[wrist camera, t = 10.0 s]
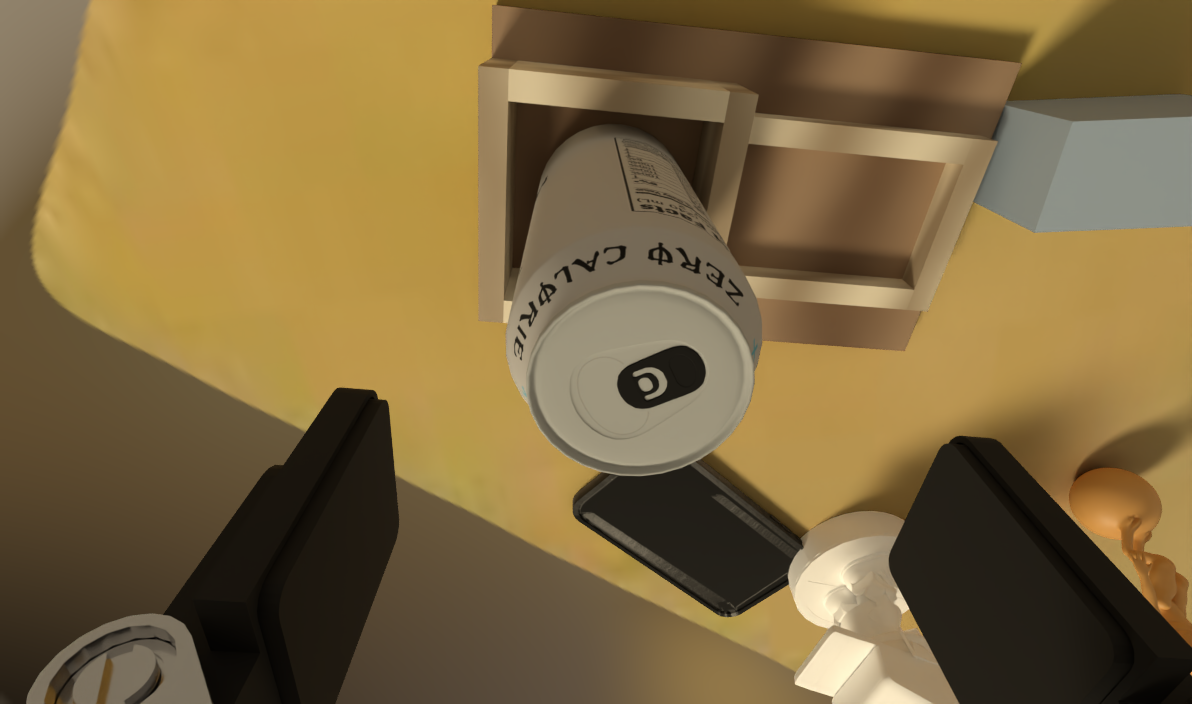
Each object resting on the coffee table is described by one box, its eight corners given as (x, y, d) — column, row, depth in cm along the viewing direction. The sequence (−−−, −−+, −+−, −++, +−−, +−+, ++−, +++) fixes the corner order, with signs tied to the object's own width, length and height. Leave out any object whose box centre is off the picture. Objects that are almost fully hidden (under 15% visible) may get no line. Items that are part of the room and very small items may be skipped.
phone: (728, 621, 41) (564, 512, 35) (724, 607, 42) (564, 498, 36) (824, 562, 38) (662, 433, 32) (818, 548, 39) (660, 420, 33)
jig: (1006, 61, 24) (1087, 71, 20) (895, 341, 31) (941, 390, 27) (495, 5, 23) (478, 4, 19) (492, 310, 29) (478, 357, 25)
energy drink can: (513, 160, 25) (440, 330, 12) (648, 92, 24) (729, 200, 11) (577, 281, 28) (575, 527, 15) (700, 226, 26) (816, 441, 13)
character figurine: (875, 613, 42) (972, 814, 31) (749, 590, 40) (807, 794, 30) (944, 524, 38) (1083, 724, 27) (806, 496, 36) (898, 695, 26)
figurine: (1149, 495, 37) (1374, 690, 26) (1055, 547, 39) (1229, 746, 28) (1090, 421, 34) (1317, 607, 23) (991, 481, 36) (1160, 677, 25)
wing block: (1178, 93, 25) (1302, 112, 21) (1138, 188, 27) (1244, 223, 23) (988, 101, 25) (1072, 121, 21) (962, 196, 27) (1034, 232, 23)
